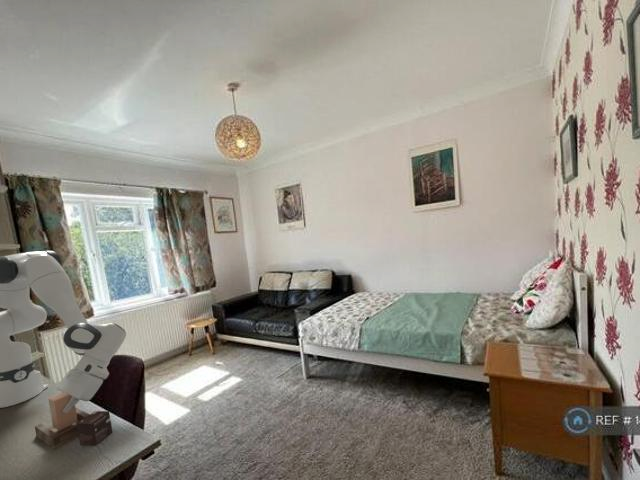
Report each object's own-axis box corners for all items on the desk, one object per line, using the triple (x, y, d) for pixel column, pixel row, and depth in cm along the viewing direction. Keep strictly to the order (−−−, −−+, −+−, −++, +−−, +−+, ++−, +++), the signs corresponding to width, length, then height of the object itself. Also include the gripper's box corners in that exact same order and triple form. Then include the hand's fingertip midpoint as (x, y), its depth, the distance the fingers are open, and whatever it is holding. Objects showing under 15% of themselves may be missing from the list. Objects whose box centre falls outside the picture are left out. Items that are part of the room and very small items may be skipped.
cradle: (36, 436, 98) (34, 426, 98) (76, 416, 108) (74, 406, 107) (54, 449, 90) (53, 438, 90) (96, 426, 99) (94, 416, 99)
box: (95, 446, 89) (91, 423, 89) (79, 445, 90) (76, 423, 90) (113, 432, 95) (109, 410, 95) (98, 431, 96) (95, 410, 96)
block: (53, 427, 98) (48, 398, 98) (71, 417, 102) (66, 390, 102) (58, 430, 95) (54, 401, 95) (77, 421, 100) (73, 392, 99)
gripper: (69, 361, 109) (39, 401, 101) (94, 368, 99) (63, 414, 91) (85, 367, 113) (57, 406, 105) (111, 375, 103) (82, 419, 95)
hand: (60, 410), depth 98 cm, fingers closed on block, 5 cm apart
